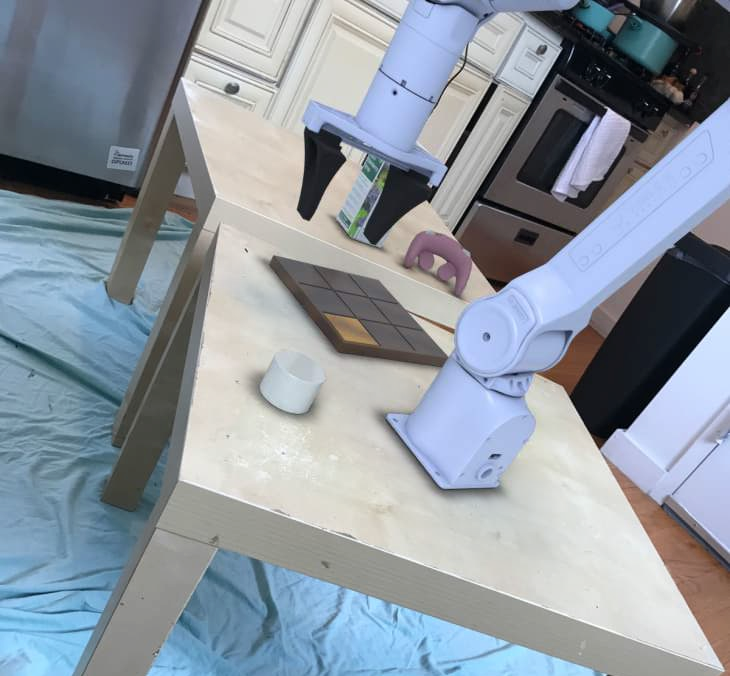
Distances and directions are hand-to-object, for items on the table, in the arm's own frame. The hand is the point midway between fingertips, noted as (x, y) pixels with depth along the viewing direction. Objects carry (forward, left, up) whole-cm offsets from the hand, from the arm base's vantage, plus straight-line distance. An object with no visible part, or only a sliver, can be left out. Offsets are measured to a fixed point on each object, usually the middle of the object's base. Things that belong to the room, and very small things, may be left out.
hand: (337, 228), depth 71 cm
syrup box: (+25, -25, -10) cm, 37 cm away
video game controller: (+17, -34, -10) cm, 40 cm away
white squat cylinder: (-15, +10, -9) cm, 20 cm away
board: (+1, -9, -9) cm, 13 cm away
